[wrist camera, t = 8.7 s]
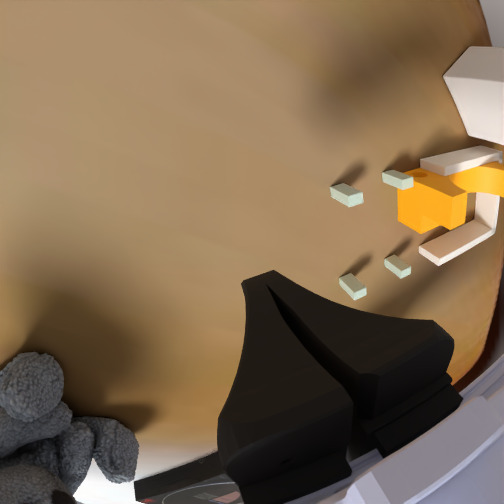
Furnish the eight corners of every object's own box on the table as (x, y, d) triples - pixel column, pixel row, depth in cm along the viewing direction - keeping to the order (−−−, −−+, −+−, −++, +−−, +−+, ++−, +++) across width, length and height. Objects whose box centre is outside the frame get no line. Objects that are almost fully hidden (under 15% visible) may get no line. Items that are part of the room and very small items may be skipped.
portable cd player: (276, 470, 42) (283, 488, 39) (197, 500, 42) (201, 517, 39) (224, 445, 34) (231, 470, 31) (133, 479, 34) (135, 500, 31)
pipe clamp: (396, 219, 25) (447, 250, 20) (395, 173, 23) (452, 197, 18) (470, 191, 27) (515, 212, 21) (472, 153, 25) (519, 170, 19)
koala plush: (148, 433, 29) (177, 591, 12) (49, 457, 27) (50, 578, 10) (37, 331, 20) (-5, 562, 3) (-47, 378, 19) (-84, 518, 2)
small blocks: (351, 280, 26) (366, 294, 24) (339, 285, 26) (354, 300, 24) (343, 183, 22) (362, 191, 20) (329, 187, 22) (348, 196, 20)
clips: (394, 261, 27) (410, 273, 25) (384, 265, 27) (400, 278, 25) (392, 169, 23) (413, 176, 20) (382, 172, 22) (402, 180, 20)
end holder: (476, 223, 29) (494, 233, 27) (418, 252, 28) (438, 266, 25) (481, 145, 25) (502, 151, 22) (420, 159, 23) (444, 167, 20)
